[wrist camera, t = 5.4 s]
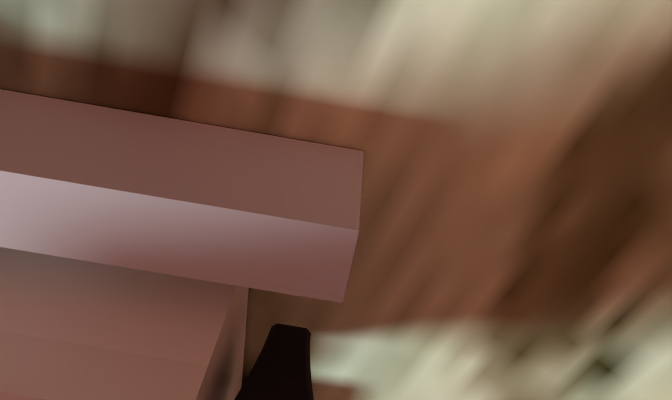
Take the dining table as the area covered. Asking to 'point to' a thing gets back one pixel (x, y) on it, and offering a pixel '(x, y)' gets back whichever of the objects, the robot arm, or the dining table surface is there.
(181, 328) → the pink stepped block
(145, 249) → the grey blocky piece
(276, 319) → the dining table surface
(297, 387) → the robot arm
